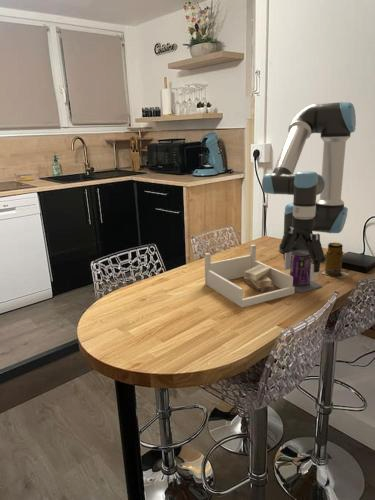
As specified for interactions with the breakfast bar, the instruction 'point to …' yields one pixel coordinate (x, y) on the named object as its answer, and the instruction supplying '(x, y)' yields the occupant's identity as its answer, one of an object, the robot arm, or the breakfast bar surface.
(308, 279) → the beverage can
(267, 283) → the offcut oak
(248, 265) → the frame
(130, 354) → the breakfast bar surface
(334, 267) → the condiment
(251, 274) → the offcut birch
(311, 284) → the coaster
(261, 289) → the offcut walnut
